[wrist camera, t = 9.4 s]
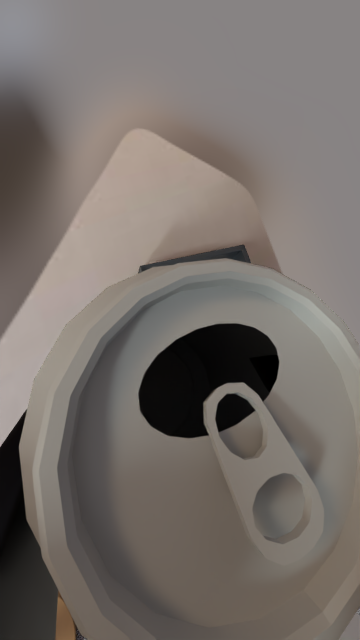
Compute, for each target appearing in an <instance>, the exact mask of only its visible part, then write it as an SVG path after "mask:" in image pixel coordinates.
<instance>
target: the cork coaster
mask: <svg viewBox="0 0 360 640" xmlns="http://www.w3.org/2000/svg"><path fill="white" fill-rule="evenodd" d="M76 635H77V626H76V624H75V622H74V620H73V618H72V616H71V614H70V612H69V610H68V608H67V606H66V604H65V602H64V600H63V598H62V596H61V594H60V592H59V590H58V603H57V619H56V636H55V640H76Z"/></svg>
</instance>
